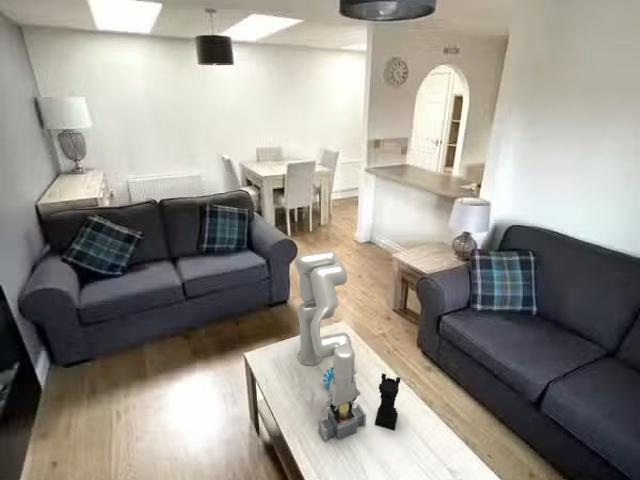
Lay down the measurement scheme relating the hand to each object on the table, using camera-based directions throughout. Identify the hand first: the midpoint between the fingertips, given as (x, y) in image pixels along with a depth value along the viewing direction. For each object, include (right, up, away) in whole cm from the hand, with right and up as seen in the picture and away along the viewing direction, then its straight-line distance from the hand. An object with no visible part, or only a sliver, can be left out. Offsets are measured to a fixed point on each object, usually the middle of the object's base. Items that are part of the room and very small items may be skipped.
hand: (342, 412), depth 139 cm
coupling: (0, -1, 0) cm, 1 cm away
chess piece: (+18, -6, +7) cm, 20 cm away
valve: (0, -8, +3) cm, 8 cm away
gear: (-2, +1, +24) cm, 24 cm away
